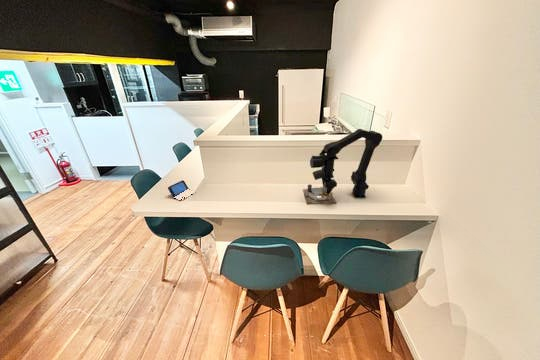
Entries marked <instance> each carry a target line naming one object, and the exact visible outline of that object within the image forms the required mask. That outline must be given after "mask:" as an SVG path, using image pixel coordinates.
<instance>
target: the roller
mask: <svg viewBox="0 0 540 360" xmlns="http://www.w3.org/2000/svg"><path fill="white" fill-rule="evenodd" d="M322 187H323V190H322V194H323V195H327V191H326V187H325V186H324V185H323V184H322Z"/></svg>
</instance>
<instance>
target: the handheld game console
mask: <svg viewBox="0 0 540 360" xmlns="http://www.w3.org/2000/svg"><path fill="white" fill-rule="evenodd" d="M167 189H168V191H169V193H170V194H171V196H172V198H173V197H175V196H177V195H179V194H180V193H182V192H184V191H185V190H187V189H189V186H188V185H187V184H186V182H185V180H183V179H182V180H181V181H178V182H176V183H174V184H172V185H170V186H168V187H167ZM182 198H183V197H182ZM184 198H185V197H184ZM181 200H182V199H181Z"/></svg>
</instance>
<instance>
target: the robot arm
mask: <svg viewBox="0 0 540 360" xmlns="http://www.w3.org/2000/svg"><path fill="white" fill-rule="evenodd" d="M361 139H364V144H365V145H364V146H365V147H364V150H363V153H362V156H361V159H360V161H359V164H358V167H357V169H356V170H355V171H352V172H351V175H350V180H351V182H352V184H353V187H352V191H351V194H352V195H353V197H354V198H355V199H357V198H361V199H363V198H366V197H367V196H366V190H368V189H369V187H370V186H369V185H368V183H367V182H366V181H367V169H368V168H369V165H370V163H371V159H372V157H373V154H374V152H375V149H376V148H378V146H379V145H380V144H381V143H382V140H383V135H382V133H380V132H378V131H375V130H370V131H369V130H366V129H362V128H357V129H356V130H355V131H353V132H352V133H350V134H348V135H345V136H344V137H342V138H341V139H339V140H336V141H331V142H329V143H326V144H325V145H324V146H323V149H321V151H320V153H318V154H319V155H311V157H310V160H309V165H310V166H309V167H310V168H311V169H315V168H316V170H315V171H313V172H312V176H313V179H314V180H315V181H317V180H320V179H321V180H322V181H321V182H322V186H323V185H324V186H325V187H326V191H327V195H329V194H330V192H331V191H333V190H334V189H335V188H337V186H338V183H337V181H336V180H335V178H334V177H335V176H334V172H335V160H339V158H338V156H337V154H339V153H340V152H341V151H342V150H343V148H346V147H347V146H350V145H351V144H353V143H355V142H356V141H358V140H361ZM317 168H321V169H317Z"/></svg>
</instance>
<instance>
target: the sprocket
mask: <svg viewBox="0 0 540 360" xmlns="http://www.w3.org/2000/svg"><path fill="white" fill-rule="evenodd" d="M307 189H308V192H307V193H306V196H308V197H309V198H311V199H313V200H314V201H325V200H328V201H329V200H330V197H331V195H333V192H332V191H333V190H332V191H331V192H330V194H329V195H323V194H322V190H323V186H320V187H313V185H312V184H311V183H310V184H307Z"/></svg>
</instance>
